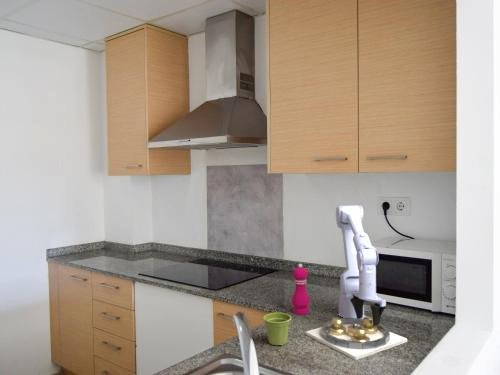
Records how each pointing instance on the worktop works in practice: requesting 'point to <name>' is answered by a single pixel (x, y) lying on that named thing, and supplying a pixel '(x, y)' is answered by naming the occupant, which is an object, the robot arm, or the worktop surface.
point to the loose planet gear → (369, 325)
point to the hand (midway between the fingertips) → (367, 321)
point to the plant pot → (277, 327)
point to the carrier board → (357, 353)
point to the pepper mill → (300, 291)
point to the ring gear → (356, 344)
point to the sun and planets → (353, 330)
